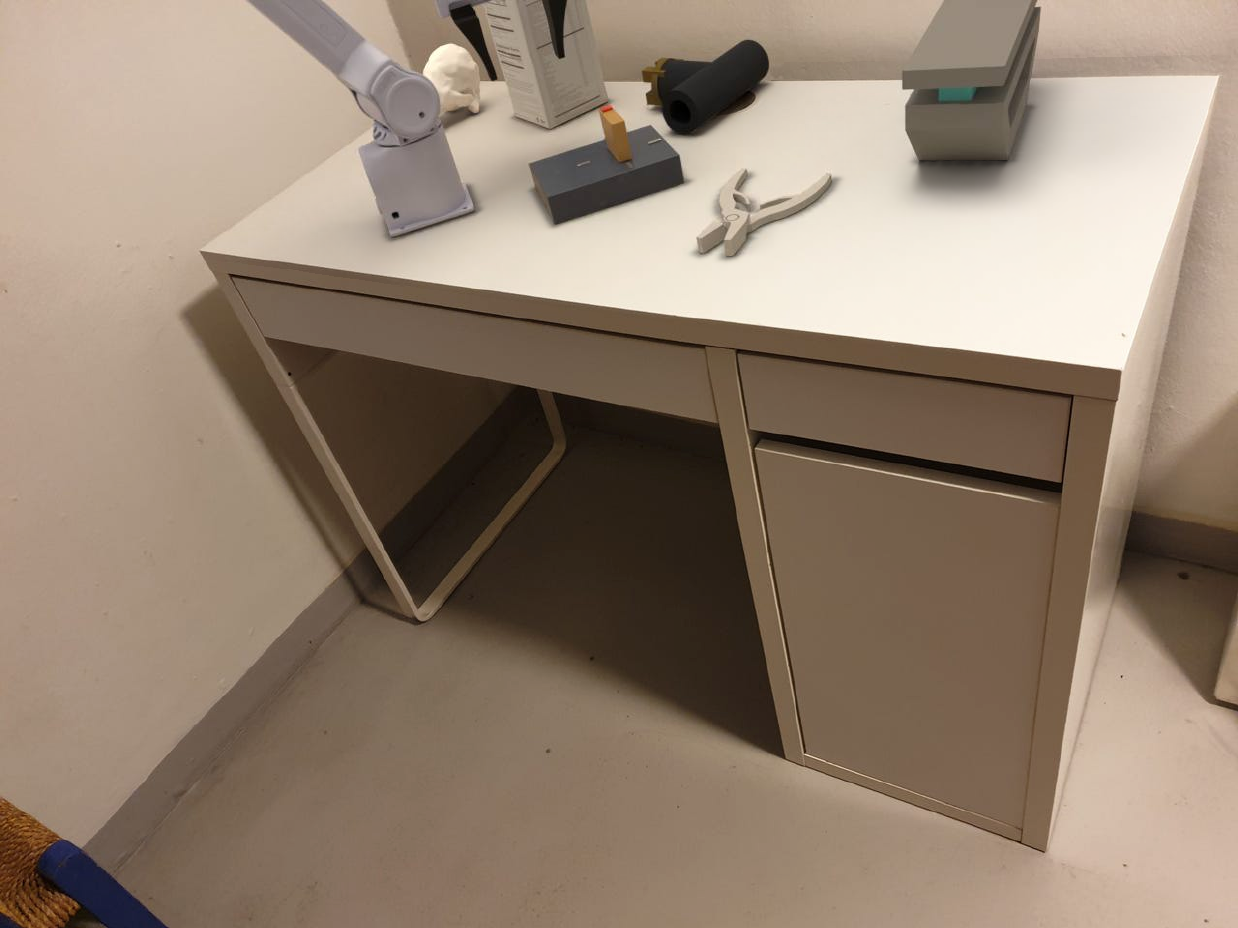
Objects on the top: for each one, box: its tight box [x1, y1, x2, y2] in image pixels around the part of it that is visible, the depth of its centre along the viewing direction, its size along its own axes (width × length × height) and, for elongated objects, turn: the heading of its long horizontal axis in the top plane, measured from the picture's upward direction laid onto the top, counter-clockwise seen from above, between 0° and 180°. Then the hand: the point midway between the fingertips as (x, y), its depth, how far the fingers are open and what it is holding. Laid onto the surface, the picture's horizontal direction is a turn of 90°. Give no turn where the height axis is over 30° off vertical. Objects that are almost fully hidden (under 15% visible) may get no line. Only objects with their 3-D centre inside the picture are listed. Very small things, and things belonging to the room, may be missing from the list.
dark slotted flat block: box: [528, 124, 685, 225], centre depth 95 cm, size 14×10×3 cm
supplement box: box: [482, 0, 609, 130], centre depth 111 cm, size 10×9×17 cm
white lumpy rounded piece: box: [422, 43, 481, 116], centre depth 120 cm, size 6×8×12 cm
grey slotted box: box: [901, 0, 1042, 161], centre depth 84 cm, size 25×8×11 cm, turn 154°
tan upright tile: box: [598, 104, 632, 162], centre depth 92 cm, size 5×1×4 cm, turn 15°
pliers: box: [696, 167, 832, 257], centre depth 84 cm, size 10×2×15 cm
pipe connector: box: [641, 39, 770, 136], centre depth 106 cm, size 12×5×15 cm
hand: (526, 67), depth 98 cm, fingers open, 7 cm apart
